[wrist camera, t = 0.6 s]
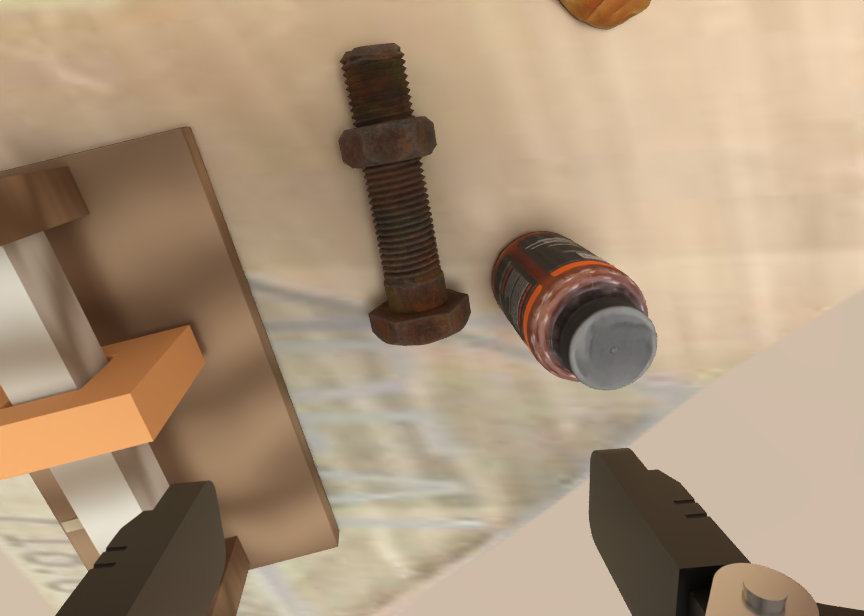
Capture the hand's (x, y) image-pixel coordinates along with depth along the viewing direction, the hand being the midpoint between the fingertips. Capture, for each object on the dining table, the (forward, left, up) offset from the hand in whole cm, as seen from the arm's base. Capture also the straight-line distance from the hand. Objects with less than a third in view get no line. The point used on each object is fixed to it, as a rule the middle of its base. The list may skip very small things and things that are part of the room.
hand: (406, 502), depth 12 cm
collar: (+2, -16, -19) cm, 25 cm away
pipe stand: (+5, -16, -22) cm, 28 cm away
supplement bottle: (+4, +9, -22) cm, 24 cm away
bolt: (-3, +2, -23) cm, 23 cm away
